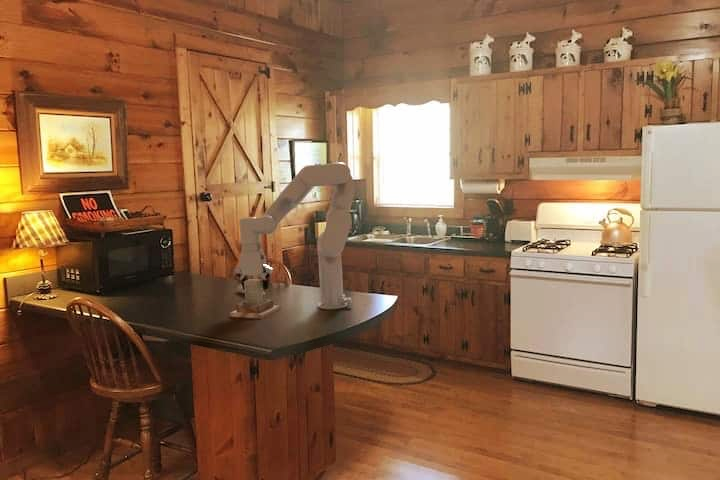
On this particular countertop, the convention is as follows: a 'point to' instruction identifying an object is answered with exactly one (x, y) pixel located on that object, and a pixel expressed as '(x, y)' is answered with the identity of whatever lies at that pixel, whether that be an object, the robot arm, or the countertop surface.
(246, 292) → the skincare box
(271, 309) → the socket stand
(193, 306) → the countertop surface
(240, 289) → the white elongated piece
